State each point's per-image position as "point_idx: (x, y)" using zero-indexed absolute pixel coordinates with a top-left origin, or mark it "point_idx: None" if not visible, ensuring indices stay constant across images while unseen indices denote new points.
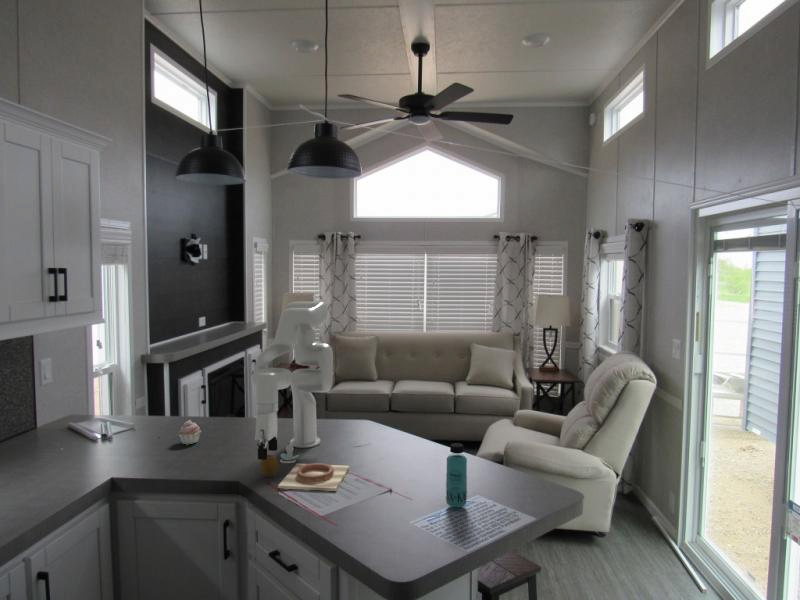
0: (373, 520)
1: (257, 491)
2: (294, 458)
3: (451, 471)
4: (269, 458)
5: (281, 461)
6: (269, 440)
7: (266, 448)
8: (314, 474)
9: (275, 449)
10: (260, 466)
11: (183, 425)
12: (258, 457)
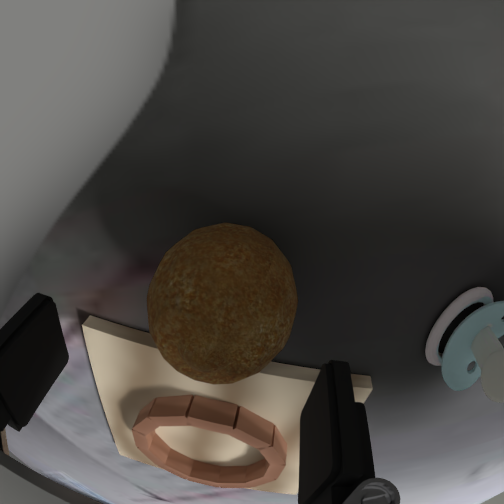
0: (43, 446)
1: (51, 228)
2: (442, 371)
3: None
4: (164, 355)
5: (458, 301)
6: (329, 473)
7: (9, 424)
8: (218, 439)
9: (302, 419)
10: (182, 241)
11: None
12: (30, 305)
